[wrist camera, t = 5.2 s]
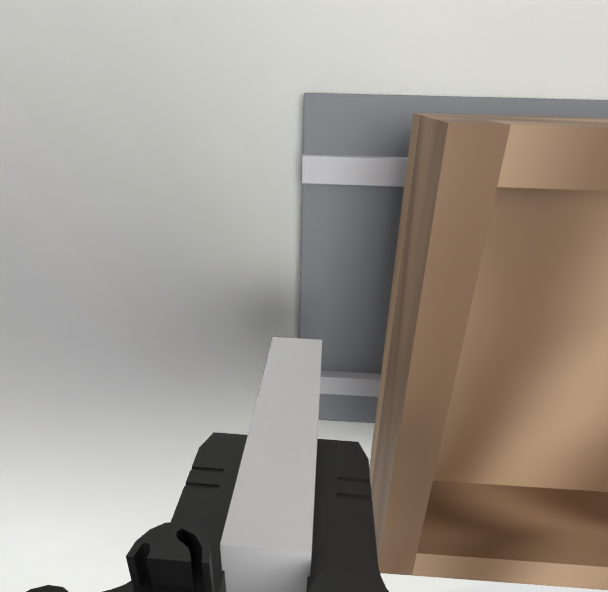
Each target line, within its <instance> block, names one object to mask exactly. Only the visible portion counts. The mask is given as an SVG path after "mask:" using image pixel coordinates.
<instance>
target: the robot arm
mask: <svg viewBox="0 0 608 592" xmlns="http://www.w3.org/2000/svg"><path fill="white" fill-rule="evenodd" d="M321 355H322V340H316V339H301V338H285V337H273V338H272V342H271V346H270V350H269V354H268V358H267V362H266V365H265V369H264V373H263V377H262V381H261V385H260V389H259V393H258V397H257V401H256V405H255V409H254V413H253V417H252V421H251V425H250V429H249V433H248V435H240V434H227V433H213V434H212V435H211V436H210V437H209V438H208V439H207V440H206V441H205V442H204V443H203V444H202V445H201V446H200V447H199V450H198V452H197V455H196V457H195V460H194V463H193V465H192V470H190V473H189V476H188V478H187V481H186V486H184V489H183V491H182V494H181V497H180V499H179V502H178V505H177V507H176V510H175V512H174V515H173V518H172V520H171V522H169V523H164V524H162V525H159V526H157V527H155V528H152V529H150V530H149V531H148V532H146V533H145V534H144V535H143V536H142V537H140V538H139V539H138V540H137V541H136V542H135V543H134V545H133V546H132V548H131V549H130V551H129V552H128V554H127V555H126V559H127V563H128V567H129V572H130V576H131V580H132V581H130V582H128V583H127V584H125V585H122V586H120V587H117V588H114V589H111V590H107V591H103V592H389V591H388V590H387V588H386V587H385V584H384V582H383V580H382V578H381V575H380V571H379V566H378V557H377V546H376V536H375V525H374V514H373V503H372V492H371V483H370V471H369V460H368V458H367V456H366V454H365V453H364V451H363V449H362V448H361V446H360V444H359V442H352V441H339V440H325V439H317V435H318V415H319V395H320V375H321ZM27 592H68V591H67V590H66V589H65V588H63V587H59V586H52V585H46V586H42V587H38V588H34V589H30V590H28V591H27Z"/></svg>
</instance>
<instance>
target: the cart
mask: <svg viewBox="0 0 608 592" xmlns="http://www.w3.org/2000/svg"><path fill="white" fill-rule="evenodd" d="M369 471H370V483H371V492H372V503H373V514H374V525H375V536H376V546H377V557H378V566H379V571H380V573H387V574H401V575H414V576H427V577H441V578H454V579H467V580H481V581H494V582H507V583H521V584H534V585H547V586H561V587H574V588H575V587H576V588H587V589H601V590H608V118H592V117H553V116H515V115H476V114H438V113H413V120H412V128H411V136H410V145H409V153H408V161H407V169H406V177H405V185H404V193H403V201H402V209H401V217H400V225H399V233H398V241H397V249H396V258H395V266H394V274H393V282H392V290H391V298H390V306H389V314H388V322H387V330H386V338H385V346H384V354H383V362H382V371H381V379H380V387H379V395H378V403H377V411H376V419H375V427H374V435H373V443H372V451H371V459H370V467H369Z"/></svg>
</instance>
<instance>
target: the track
mask: <svg viewBox="0 0 608 592" xmlns="http://www.w3.org/2000/svg"><path fill="white" fill-rule="evenodd" d="M413 113H438V114H476V115H515V116H553V117H592V118H608V100H576V99H535V98H494V97H453V96H411V95H370V94H329V93H304V140H303V156H302V183H303V191H302V242H301V293H300V338H301V339H316V340H322V355H321V375H320V395H319V415H318V420H332V421H349V422H366V423H375V419H376V411H377V403H378V395H379V387H380V379H381V371H382V362H383V354H384V346H385V338H386V330H387V322H388V314H389V306H390V298H391V290H392V282H393V274H394V266H395V258H396V249H397V241H398V233H399V225H400V217H401V209H402V201H403V193H404V185H405V177H406V169H407V161H408V153H409V145H410V136H411V128H412V120H413Z"/></svg>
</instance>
